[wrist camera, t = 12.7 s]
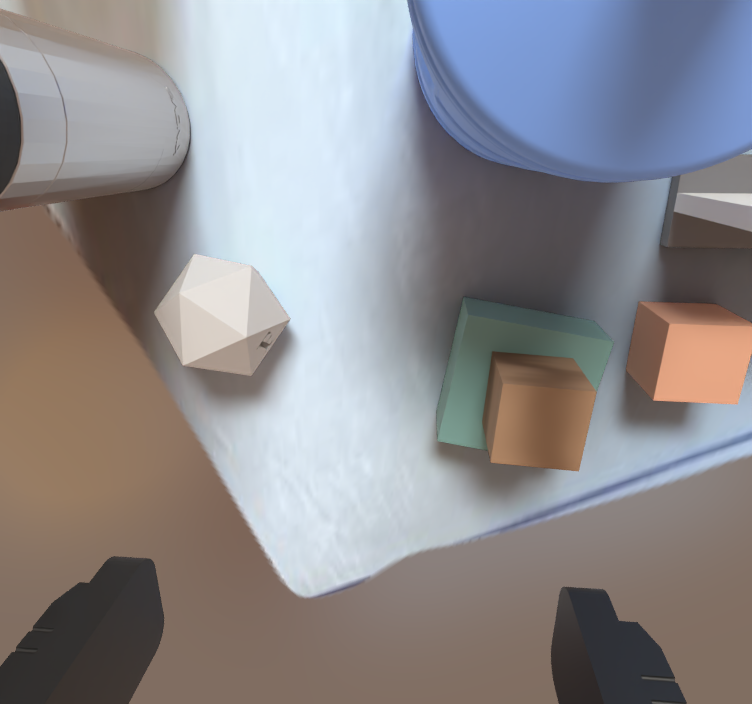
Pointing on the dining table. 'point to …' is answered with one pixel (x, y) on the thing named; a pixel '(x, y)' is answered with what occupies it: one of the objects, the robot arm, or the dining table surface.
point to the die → (221, 316)
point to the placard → (711, 207)
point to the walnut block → (537, 411)
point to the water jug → (590, 82)
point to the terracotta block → (689, 352)
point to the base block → (512, 335)
